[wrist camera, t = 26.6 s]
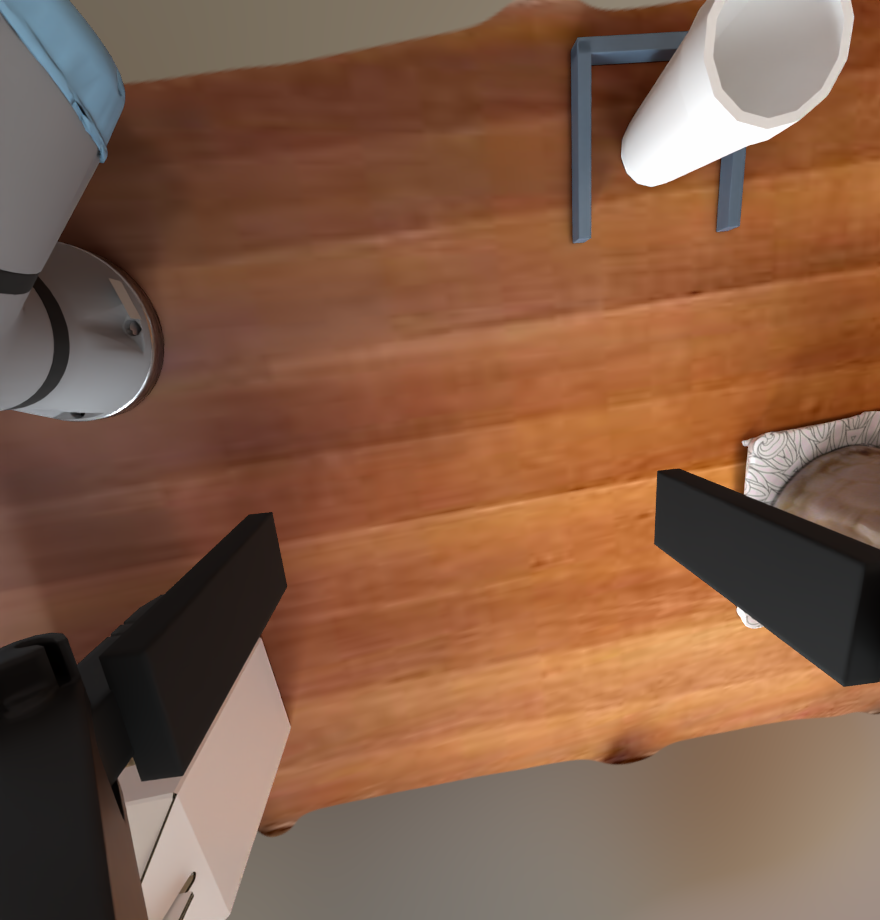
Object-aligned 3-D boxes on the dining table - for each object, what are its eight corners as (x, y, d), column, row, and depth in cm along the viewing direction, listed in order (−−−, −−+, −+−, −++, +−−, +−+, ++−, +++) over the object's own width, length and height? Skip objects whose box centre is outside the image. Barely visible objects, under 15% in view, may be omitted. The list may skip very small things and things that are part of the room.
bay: (728, 231, 39) (740, 226, 38) (572, 243, 39) (578, 238, 37) (742, 40, 36) (756, 26, 34) (570, 50, 35) (577, 36, 34)
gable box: (110, 763, 49) (-266, 1268, 22) (66, 673, 46) (-439, 1132, 18) (294, 727, 49) (151, 1173, 22) (263, 634, 46) (53, 1025, 19)
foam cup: (612, 216, 38) (711, 145, 26) (596, 103, 36) (695, -35, 23) (709, 189, 38) (855, 104, 26) (698, 75, 36) (853, -79, 23)
